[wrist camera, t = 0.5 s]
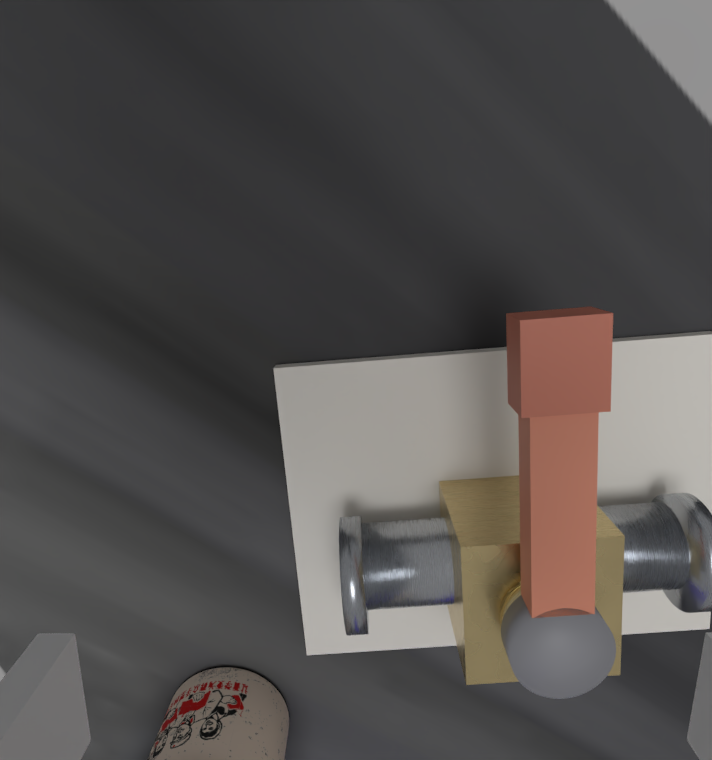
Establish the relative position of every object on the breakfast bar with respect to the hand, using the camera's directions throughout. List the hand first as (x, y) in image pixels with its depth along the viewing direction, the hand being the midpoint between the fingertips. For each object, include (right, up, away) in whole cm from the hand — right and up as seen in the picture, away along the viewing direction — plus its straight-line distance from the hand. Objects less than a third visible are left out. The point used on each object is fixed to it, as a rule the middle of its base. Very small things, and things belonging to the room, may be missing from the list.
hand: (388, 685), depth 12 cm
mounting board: (+9, -1, +25) cm, 27 cm away
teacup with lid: (-11, -18, +30) cm, 37 cm away
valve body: (+9, -3, +26) cm, 28 cm away
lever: (+8, +1, +15) cm, 17 cm away
